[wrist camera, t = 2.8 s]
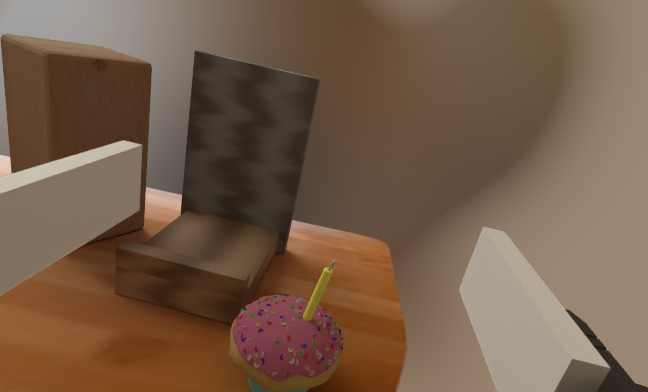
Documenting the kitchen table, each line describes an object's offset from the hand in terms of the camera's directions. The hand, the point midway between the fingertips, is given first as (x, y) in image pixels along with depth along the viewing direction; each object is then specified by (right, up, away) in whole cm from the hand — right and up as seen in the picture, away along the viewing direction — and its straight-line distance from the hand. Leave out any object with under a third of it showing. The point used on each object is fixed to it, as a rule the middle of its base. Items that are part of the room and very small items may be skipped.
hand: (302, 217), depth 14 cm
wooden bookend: (-12, -7, +29) cm, 32 cm away
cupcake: (-3, -14, +16) cm, 22 cm away
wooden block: (-28, -3, +31) cm, 42 cm away
